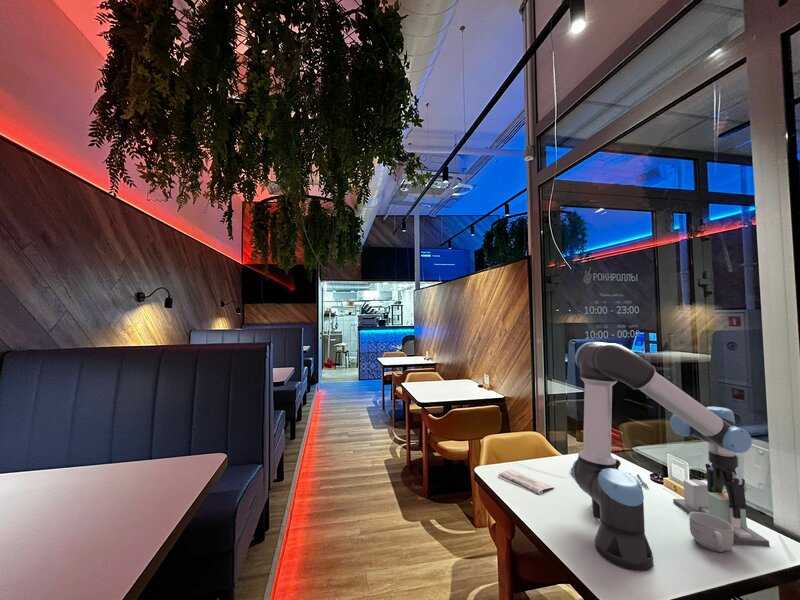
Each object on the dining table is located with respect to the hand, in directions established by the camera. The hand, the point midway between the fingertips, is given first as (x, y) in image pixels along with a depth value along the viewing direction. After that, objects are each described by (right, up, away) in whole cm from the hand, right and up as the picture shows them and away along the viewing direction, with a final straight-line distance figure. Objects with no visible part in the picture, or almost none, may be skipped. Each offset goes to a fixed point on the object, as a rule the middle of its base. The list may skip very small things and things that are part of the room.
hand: (727, 521), depth 119 cm
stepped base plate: (0, -3, +5) cm, 6 cm away
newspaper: (-57, -6, +35) cm, 68 cm away
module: (0, -1, 0) cm, 1 cm away
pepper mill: (-34, -4, +12) cm, 36 cm away
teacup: (-14, -2, -10) cm, 17 cm away
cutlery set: (-18, -7, +40) cm, 44 cm away
